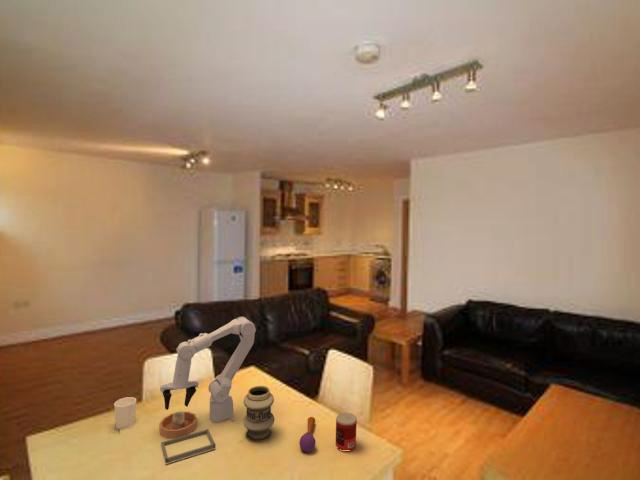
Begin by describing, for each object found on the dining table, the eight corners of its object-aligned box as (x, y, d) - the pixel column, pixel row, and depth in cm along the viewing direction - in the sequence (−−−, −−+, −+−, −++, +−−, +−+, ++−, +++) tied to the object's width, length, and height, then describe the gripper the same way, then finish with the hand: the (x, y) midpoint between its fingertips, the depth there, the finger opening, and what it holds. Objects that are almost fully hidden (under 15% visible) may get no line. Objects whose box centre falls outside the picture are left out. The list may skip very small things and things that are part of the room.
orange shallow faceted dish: (192, 417, 153) (192, 408, 153) (200, 434, 141) (200, 424, 141) (157, 426, 146) (157, 417, 146) (162, 444, 134) (162, 434, 134)
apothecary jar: (237, 434, 142) (237, 390, 141) (261, 422, 151) (261, 380, 150) (255, 447, 134) (256, 401, 133) (280, 434, 143) (280, 390, 142)
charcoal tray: (207, 434, 141) (207, 429, 141) (215, 450, 132) (215, 444, 132) (161, 447, 133) (161, 442, 133) (165, 465, 123) (165, 459, 123)
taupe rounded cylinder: (183, 423, 147) (183, 410, 146) (185, 429, 143) (185, 415, 143) (171, 426, 144) (171, 413, 144) (173, 432, 141) (173, 418, 140)
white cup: (127, 432, 142) (126, 407, 141) (109, 429, 143) (109, 405, 143) (140, 421, 149) (140, 398, 149) (124, 419, 151) (124, 395, 150)
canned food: (357, 442, 139) (358, 414, 138) (352, 454, 131) (353, 425, 131) (338, 437, 141) (339, 410, 141) (332, 449, 134) (333, 421, 133)
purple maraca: (319, 415, 150) (316, 441, 130) (316, 429, 150) (312, 457, 130) (306, 412, 151) (300, 437, 131) (303, 425, 150) (296, 453, 131)
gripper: (196, 367, 151) (191, 400, 151) (160, 371, 142) (154, 405, 141) (202, 374, 145) (197, 407, 145) (165, 378, 136) (159, 413, 136)
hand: (176, 407), depth 143 cm, fingers open, 7 cm apart
